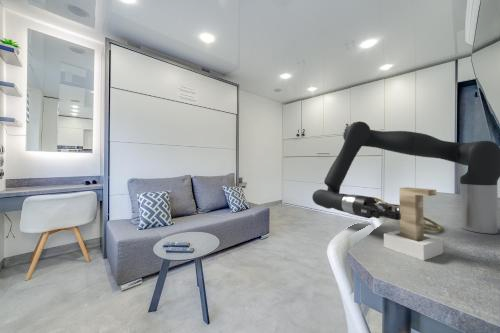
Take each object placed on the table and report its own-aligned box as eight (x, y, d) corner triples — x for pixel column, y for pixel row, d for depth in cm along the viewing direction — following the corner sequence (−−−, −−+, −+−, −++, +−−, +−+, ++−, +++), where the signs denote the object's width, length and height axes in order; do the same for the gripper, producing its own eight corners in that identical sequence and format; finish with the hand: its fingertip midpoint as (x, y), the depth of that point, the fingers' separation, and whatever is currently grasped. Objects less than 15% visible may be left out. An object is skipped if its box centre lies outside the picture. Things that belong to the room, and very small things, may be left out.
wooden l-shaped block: (408, 246, 61) (407, 187, 61) (437, 255, 55) (436, 189, 55) (400, 248, 59) (399, 188, 59) (429, 258, 53) (428, 190, 53)
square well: (403, 241, 65) (403, 229, 65) (443, 253, 56) (442, 238, 56) (383, 246, 61) (383, 233, 61) (423, 260, 52) (423, 245, 52)
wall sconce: (443, 222, 68) (370, 188, 87) (429, 244, 71) (361, 207, 90) (451, 216, 76) (382, 187, 95) (438, 237, 79) (374, 204, 98)
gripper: (344, 196, 71) (394, 204, 56) (370, 193, 77) (421, 200, 62) (344, 217, 71) (394, 231, 56) (371, 213, 77) (421, 224, 62)
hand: (408, 214), depth 59 cm, fingers open, 8 cm apart
